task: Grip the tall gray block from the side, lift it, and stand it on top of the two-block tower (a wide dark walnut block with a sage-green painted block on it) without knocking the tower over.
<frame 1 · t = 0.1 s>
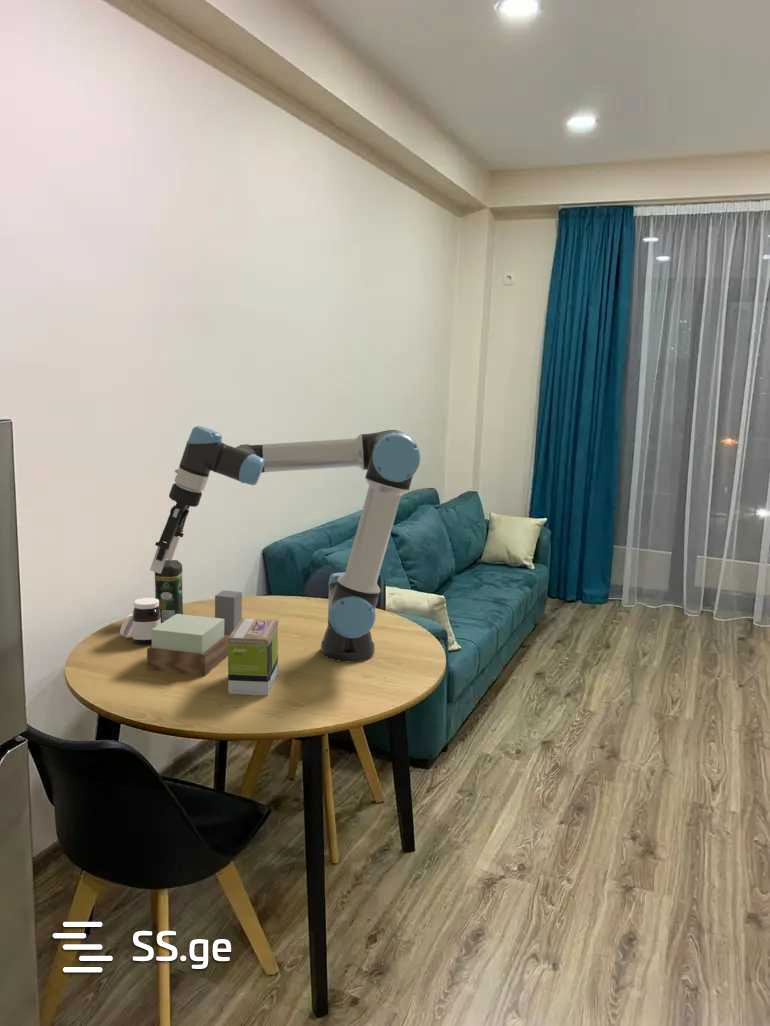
hand: (161, 565, 192), 28 cm above the table, tool tilted 20°, fingers open, 13 cm apart
walnut block: (189, 663, 203), on the table, touching sage block
gray block: (228, 632, 227), on the table
coffee jar: (168, 620, 236), on the table
sage block: (189, 642, 202), point 6 cm above the table, touching walnut block
spread jar: (140, 639, 218), on the table
tea box: (253, 684, 190), on the table
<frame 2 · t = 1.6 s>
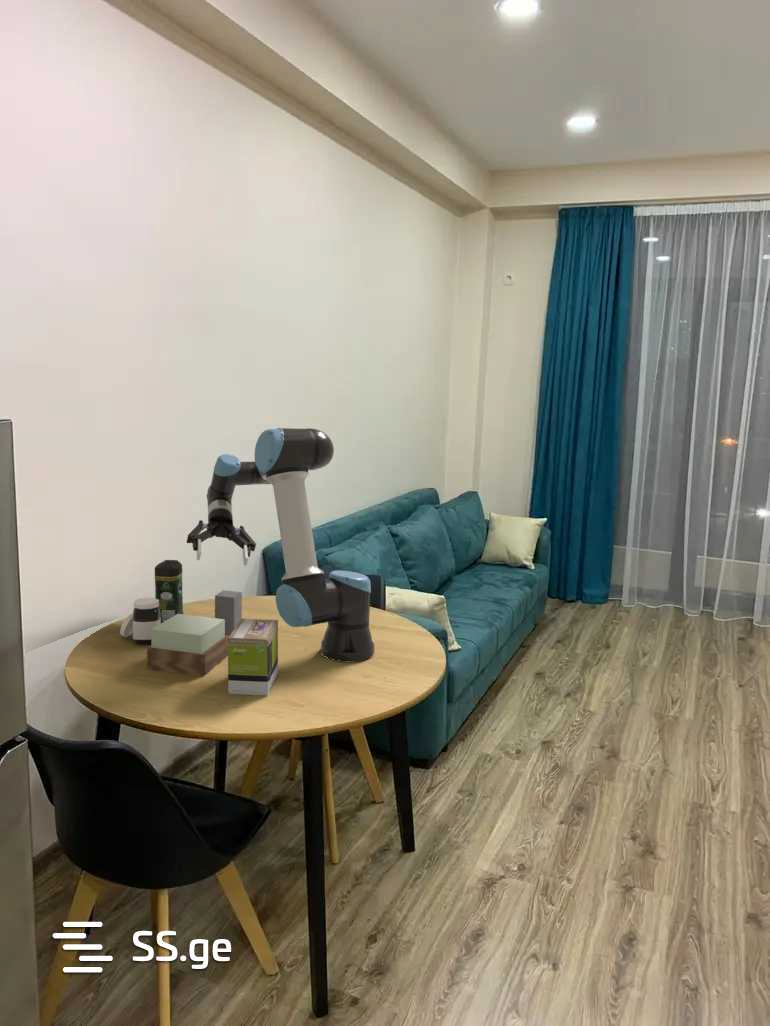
hand: (222, 559, 220), 23 cm above the table, tool tilted 65°, fingers open, 13 cm apart
nothing on the table moved.
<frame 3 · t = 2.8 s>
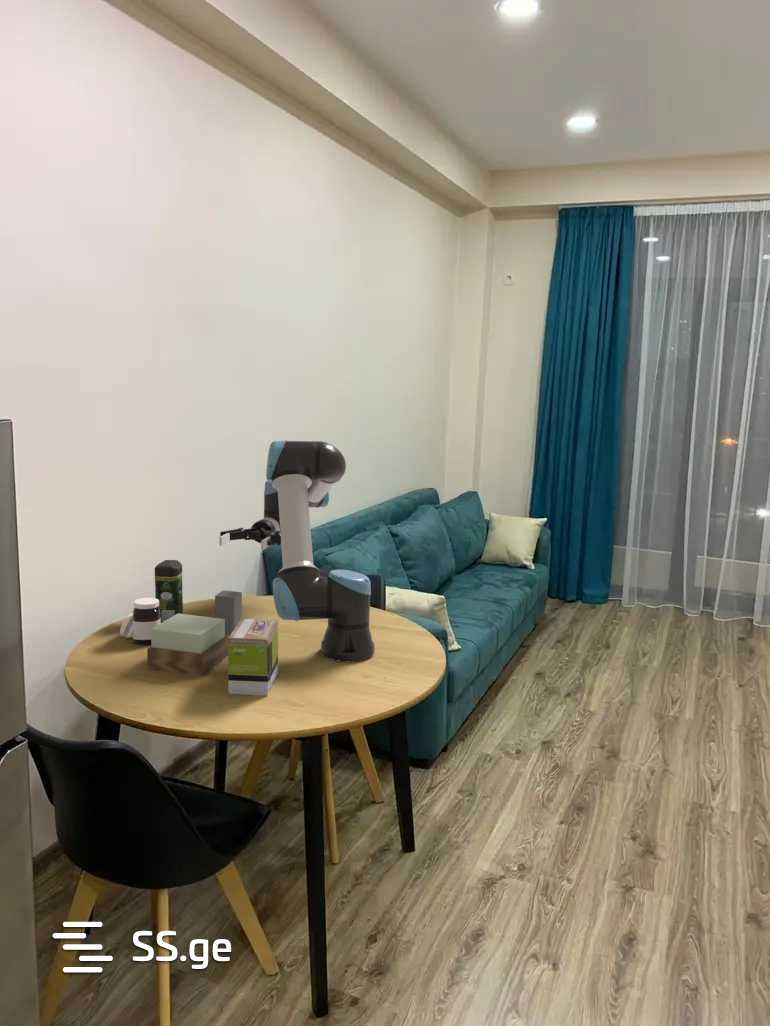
hand: (241, 543, 232), 25 cm above the table, tool horizontal, fingers open, 13 cm apart
nothing on the table moved.
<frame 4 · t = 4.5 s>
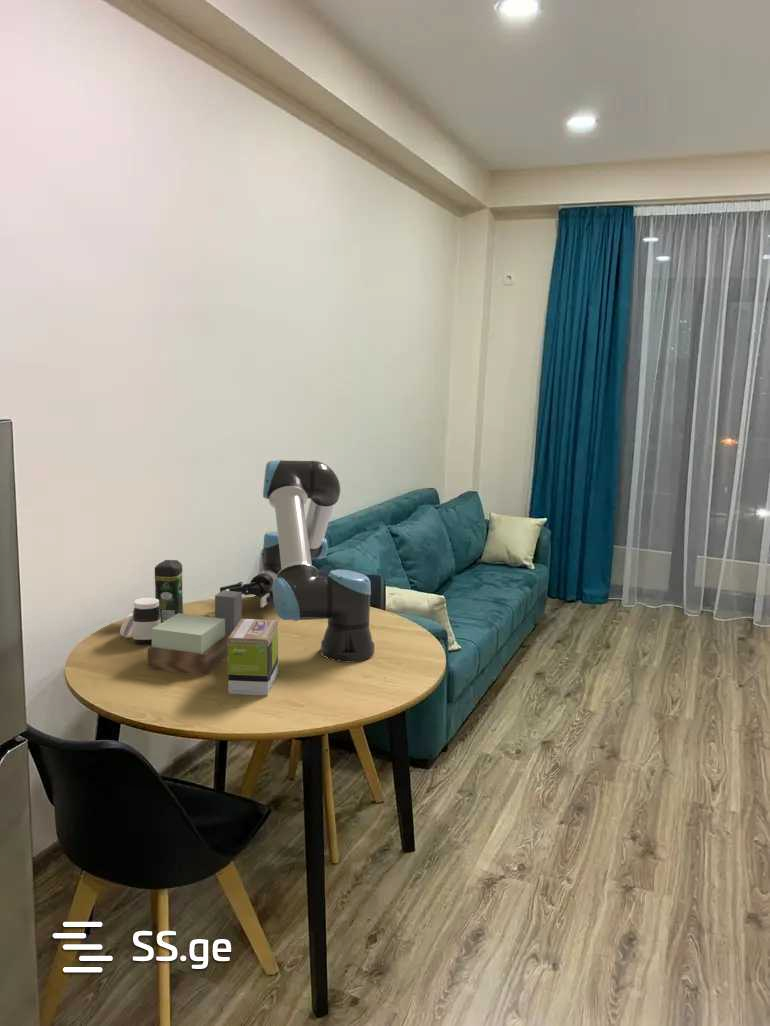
hand: (240, 601, 235), 7 cm above the table, tool horizontal, fingers open, 13 cm apart
nothing on the table moved.
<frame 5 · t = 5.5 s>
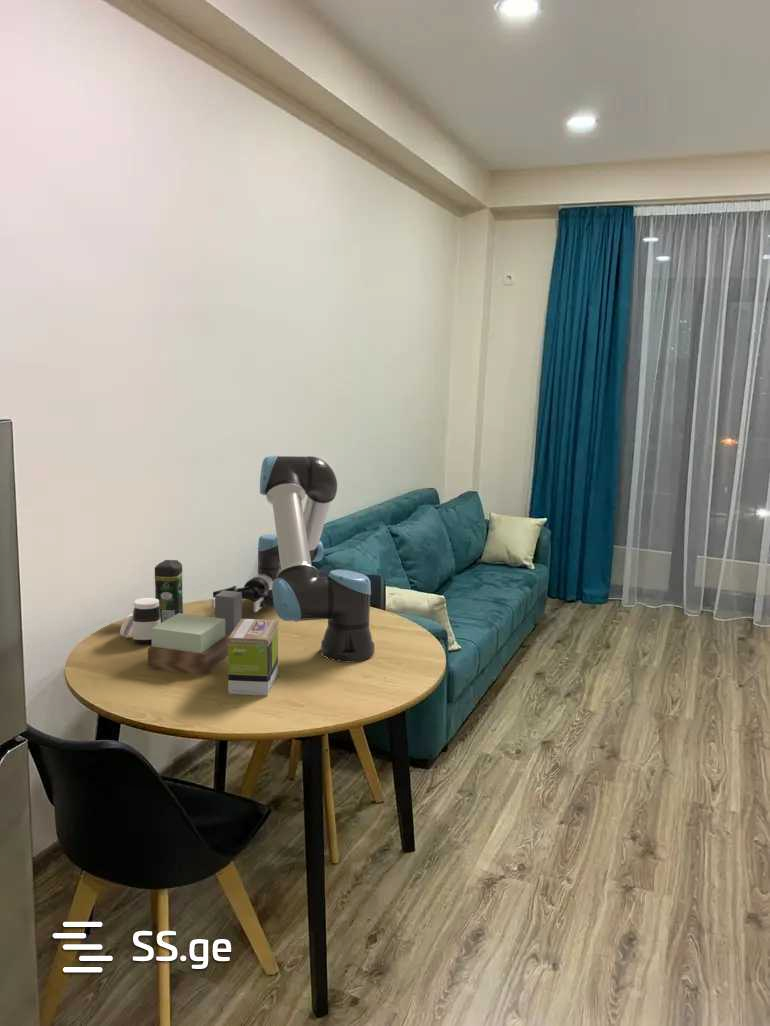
hand: (233, 605, 231), 7 cm above the table, tool horizontal, fingers open, 13 cm apart
nothing on the table moved.
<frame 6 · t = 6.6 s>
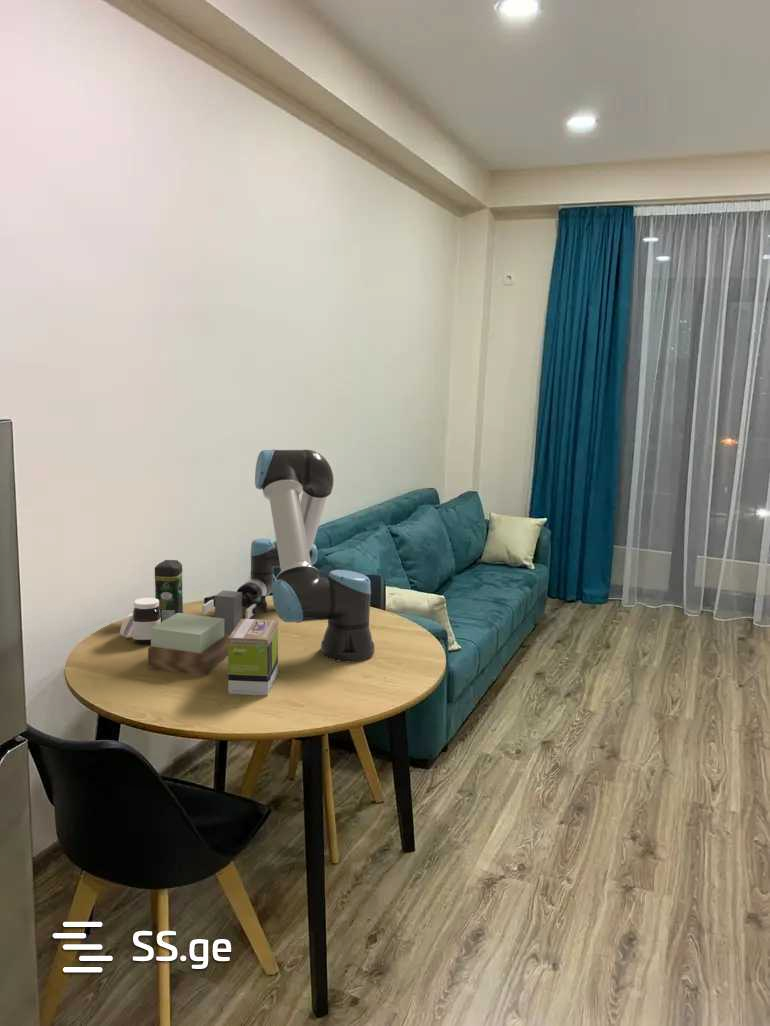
hand: (225, 612, 223), 7 cm above the table, tool horizontal, fingers open, 13 cm apart
nothing on the table moved.
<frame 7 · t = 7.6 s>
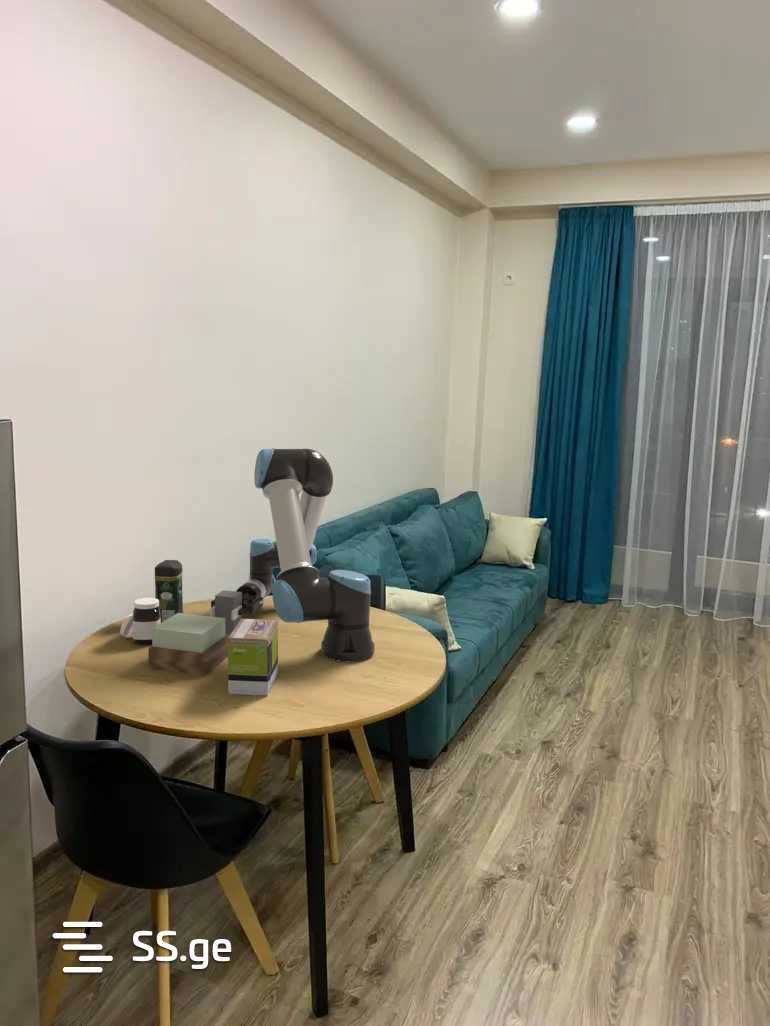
hand: (221, 614, 221), 7 cm above the table, tool horizontal, fingers closed on gray block, 6 cm apart
gray block: (228, 632, 227), on the table, touching gripper
everything else where it was.
when the fingers open (18 cm above the table, at t = 16.0 s): gray block stays where it is, resting on sage block.
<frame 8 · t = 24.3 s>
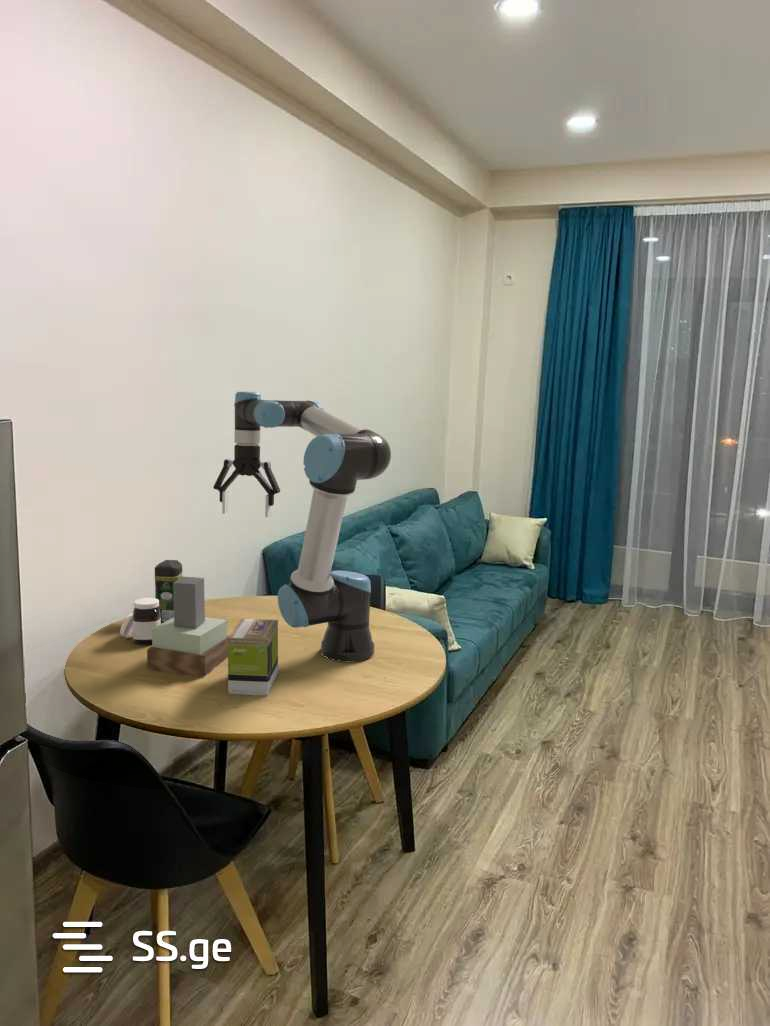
hand: (246, 514, 228), 35 cm above the table, tool pointing down, fingers open, 13 cm apart
gray block: (189, 624, 200), point 11 cm above the table, touching sage block
sage block: (190, 642, 201), point 6 cm above the table, touching gray block, walnut block
everything else where it was.
at the end: gray block inside the target area on the sage block (0.2 cm from its centre), point 5.0 cm above the sage block's base; gray block tilted 0°; sage block inside the target area on the walnut block (0.2 cm from its centre), point 6.0 cm above the walnut block's base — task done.
